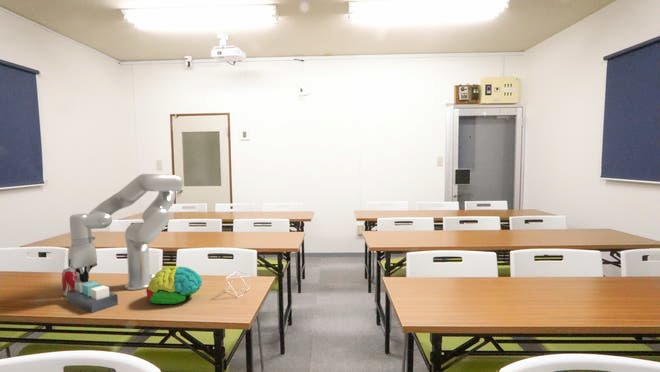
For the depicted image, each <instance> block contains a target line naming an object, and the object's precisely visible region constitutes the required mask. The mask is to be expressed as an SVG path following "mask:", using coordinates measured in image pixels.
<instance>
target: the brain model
mask: <svg viewBox="0 0 660 372" xmlns="http://www.w3.org/2000/svg"><path fill="white" fill-rule="evenodd" d="M155 274H156V275H155ZM155 274H154V275H155V276H154V277H153V278H152V280H151V281H150V283H149V285H148V287H147V288H145V289H146V290H145V291H146V292H145V293H146V296H147V300H148V301H149V302H150V303H151V304H156V305H157V304H158V305H159V304H163V305H176V304H180V303H183V302H184V301H185V300H186V298H187V297H189V296H191V295H193V294H195V293H197V292H198V291H199V290H200V288H201V286H202V285H203V280H202V276H200V274H199V273H197V272H196V271H195V270H194V269H192V268H190V267H187V266H176V265H175V266H168V267H164V268H161V270H159V271H157V272H156V273H155Z"/></svg>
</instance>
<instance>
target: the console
mask: <svg viewBox="0 0 660 372" xmlns="http://www.w3.org/2000/svg"><path fill="white" fill-rule="evenodd" d="M66 300H67V302H68V303H70V304H72V305H74V306H76V307H79V308H81V309H83V310H84V311H87V312H90V313H91V314H93V313H97V312H99V311H103V310H105V309H109V308H111V307H115V306H118V304H119V303H118V301H119V300H118V293H115V292H112V291H110V290H109V296H108V297H105V298H101V299H98V300H94V299H91V296H88V297H87V296H84V295H83V292H82V293H77V292H75V289H74V290H70V291H67V296H66Z"/></svg>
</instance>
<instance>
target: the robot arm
mask: <svg viewBox="0 0 660 372" xmlns="http://www.w3.org/2000/svg"><path fill="white" fill-rule="evenodd" d="M183 184H184V180H183V179H182V177H181V176H179V175H177V174H155V173H142V174H139V175H138V176H137V177H135V178H133V180H131V181H130V182H129V183H128V184H126V185H125V186H124V187H123V188H122V189H120V190H119V191H117V192H116V193H114V194H112V196H110V197H108V198H106V199H105V200H104V201H103V200H102V202H100V203H99V204H98V205H97V206H96V207H93V209H92V210H91V211H90V212H89V213H75V214H72V215H70V217H69V230H70V243H71V244H70V245H69V246H68V251H67V253H68V254H67V267H68V268H69V271H70V272H78V273H79V276H80V281H81V282H88V280H90V276H89V274H90V272H91V270H92V268H94V267H96V266H98V263H97V262H98V256H97V250H96V245H95V243H94V242H93V241H95V239H96V236H93V235H92V230H93V229H94V230H95V229H96V230H97V229H106V228H108V227H109V226H110V225H111V224H112V223H113V217H112V215H114V214H115V213H116V212H118V211H120V210H122V209H125V208H128V207H130V206H133V205H134V204H135V203H136V202H137V201H138V200H140V198H142V197H143V196H144V195H145V194H146V193H148V192H158V194H157V196H156V197H155V199H154V200H153V201H152V202H151V204H149V205H148V207H146V209H145V210H144V211H143V212H142V215H141V216H142V217H141V218H142V221H143V222H142V223H141V222H140V223H139V222H134V223H132V224H130V225H128V226H127V228H126V229H125V232H124V239H125V244H126V253H127V257H126V259H127V276H128V277H127V281H128V282H127V283H125V284H124V288H125V290H127V291H128V290H130V291H137V290H143V289H147V287H148V285H149V283H150V281H151V280H152V278H153V277H154V276H155V275H156V274H157V273H155V274H154V273H152V274H151V271H150V269H151V268H150V246H149V244H151V243H152V242H154V240H156V238H157V237H158V236H159V234H160V233H161V232H162V231H163V230H164V229H165V227H166V226H167V225H168V223H169V221H170V219H171V217H170V216H171V215H170V212H169V210H170V208H171V207H172V206H173V204H174V202H175V199H176V192H178V191H179V190H181V189H182V188H183Z"/></svg>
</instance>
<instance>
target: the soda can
mask: <svg viewBox="0 0 660 372" xmlns="http://www.w3.org/2000/svg"><path fill="white" fill-rule="evenodd" d="M69 268H70V267H68V268H65V269H63V270H62V273H61V289H62V295H63V296H66V297H67V291H70V290H74V289H75V282H78V281H80V276H79V273H78V272H70V271H69Z"/></svg>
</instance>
